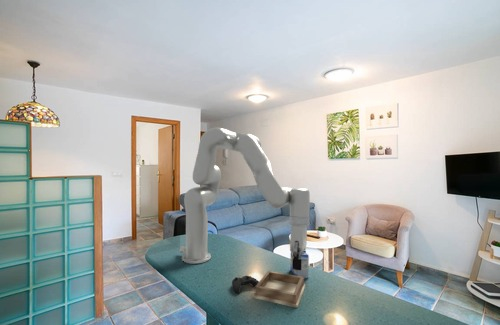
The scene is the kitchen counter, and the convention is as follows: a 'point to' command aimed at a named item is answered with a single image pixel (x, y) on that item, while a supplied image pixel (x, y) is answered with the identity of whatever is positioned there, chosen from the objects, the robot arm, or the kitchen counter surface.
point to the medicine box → (304, 265)
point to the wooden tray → (280, 288)
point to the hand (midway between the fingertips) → (299, 264)
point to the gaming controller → (243, 282)
